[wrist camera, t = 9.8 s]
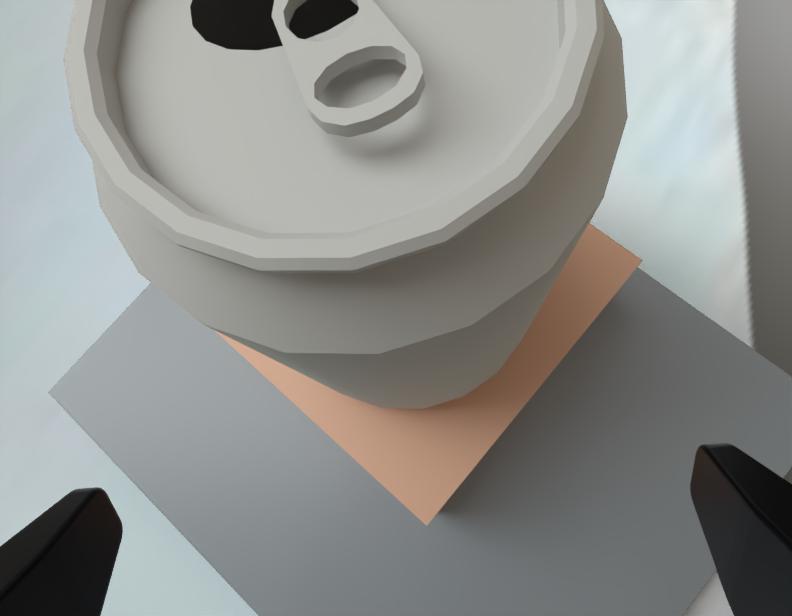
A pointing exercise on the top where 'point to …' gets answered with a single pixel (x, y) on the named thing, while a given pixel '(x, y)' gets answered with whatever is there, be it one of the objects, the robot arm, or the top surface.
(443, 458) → the block
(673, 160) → the top surface
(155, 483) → the baseplate
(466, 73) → the can
